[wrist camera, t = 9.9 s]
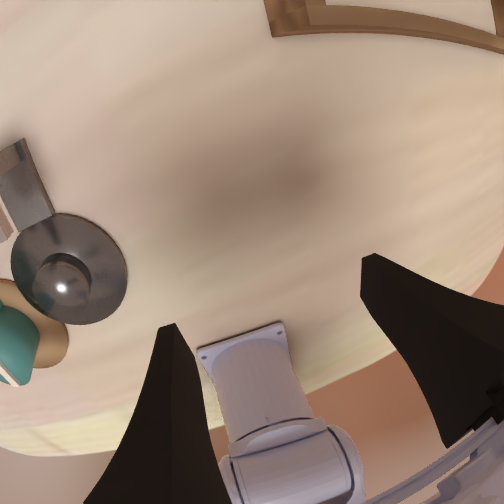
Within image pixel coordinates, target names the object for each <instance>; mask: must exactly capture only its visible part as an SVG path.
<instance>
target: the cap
mask: <svg viewBox="0 0 504 504" xmlns="http://www.w3.org/2000/svg"><path fill="white" fill-rule="evenodd" d="M39 342H40V334H39V331H38V329H37V327H36V325H35V324H34V322H33V321H32V320H31V319H30V318H29V317H28V316H27V315H25V314H24V313H23V312H21V311H19V310H18V309H15V308H13V307H10V306H5V305H3V303H2V301H1V300H0V381H2V382H4V383H7V384H10V385H12V386H13V387H20V386H21V385H25V384H27V383H28V382H29V381H30V378H31V374H32V369H33V365H34V361H35V357H36V353H37V349H38V345H39Z"/></svg>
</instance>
